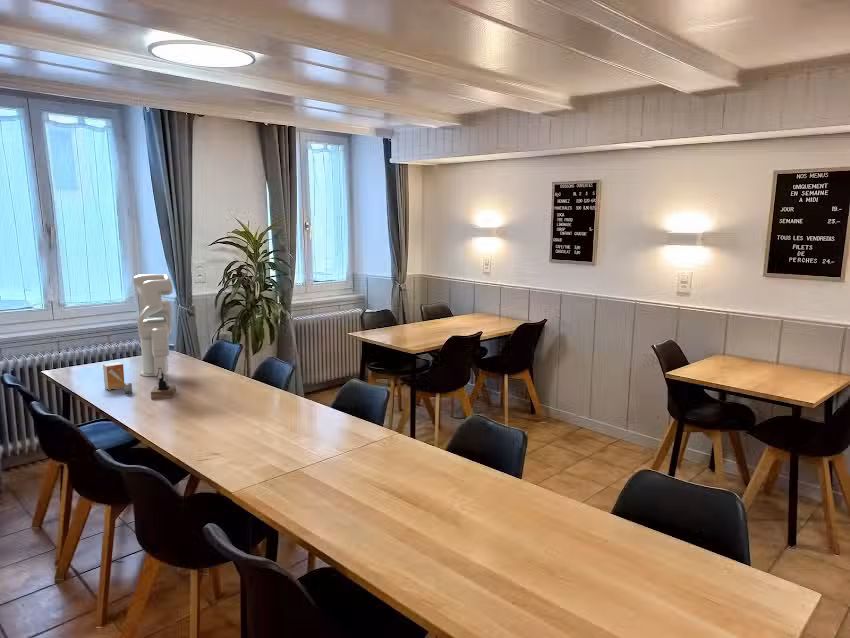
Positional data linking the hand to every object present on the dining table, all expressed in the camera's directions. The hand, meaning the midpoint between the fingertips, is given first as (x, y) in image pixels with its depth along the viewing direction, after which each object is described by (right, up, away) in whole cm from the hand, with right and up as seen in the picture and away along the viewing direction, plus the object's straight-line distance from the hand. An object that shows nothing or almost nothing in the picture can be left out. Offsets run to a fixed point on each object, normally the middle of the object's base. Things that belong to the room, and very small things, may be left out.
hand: (163, 387), depth 291 cm
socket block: (0, -4, +1) cm, 4 cm away
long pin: (0, -4, +1) cm, 4 cm away
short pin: (-19, -3, +3) cm, 20 cm away
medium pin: (-4, -3, +7) cm, 8 cm away
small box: (-30, -2, +12) cm, 33 cm away
